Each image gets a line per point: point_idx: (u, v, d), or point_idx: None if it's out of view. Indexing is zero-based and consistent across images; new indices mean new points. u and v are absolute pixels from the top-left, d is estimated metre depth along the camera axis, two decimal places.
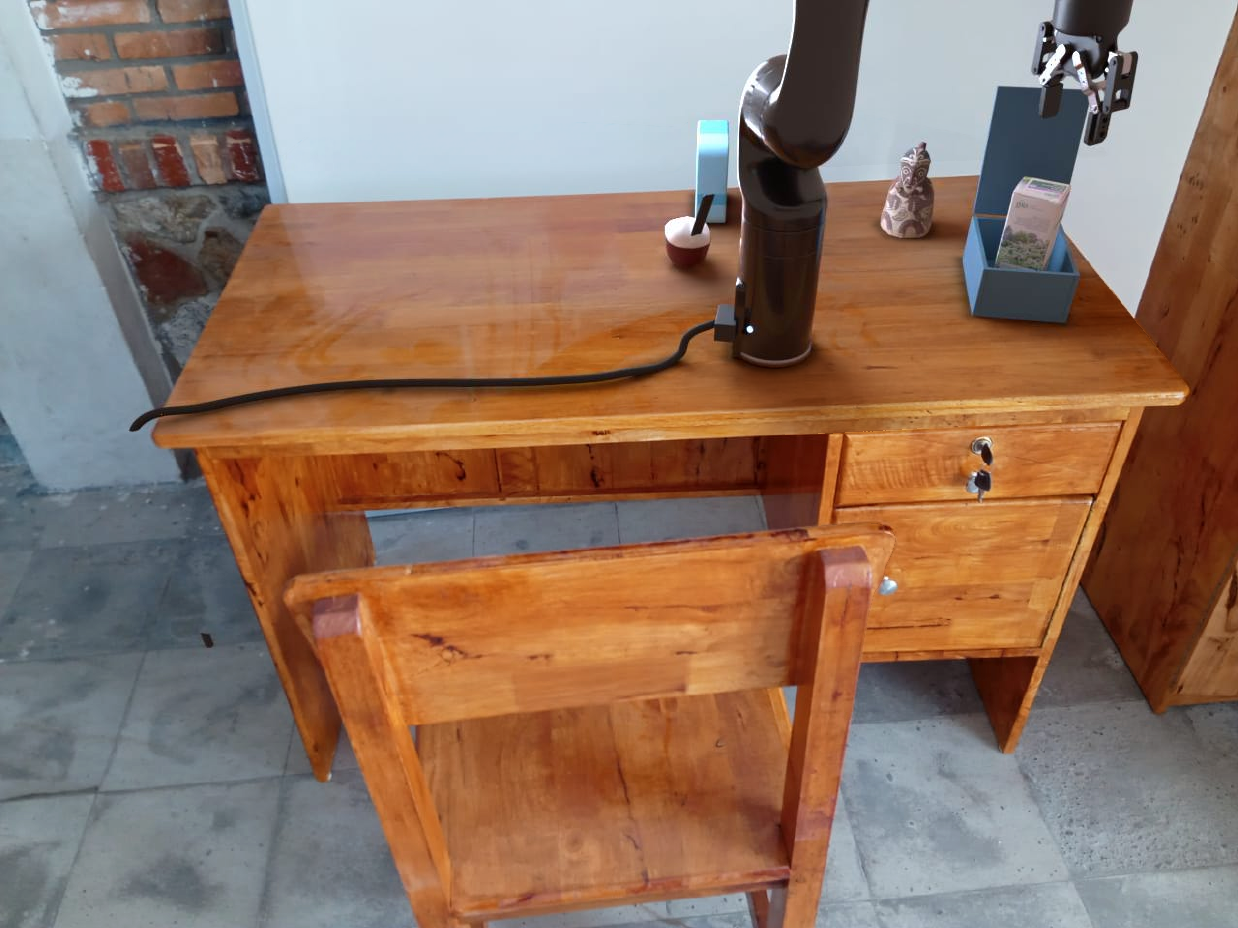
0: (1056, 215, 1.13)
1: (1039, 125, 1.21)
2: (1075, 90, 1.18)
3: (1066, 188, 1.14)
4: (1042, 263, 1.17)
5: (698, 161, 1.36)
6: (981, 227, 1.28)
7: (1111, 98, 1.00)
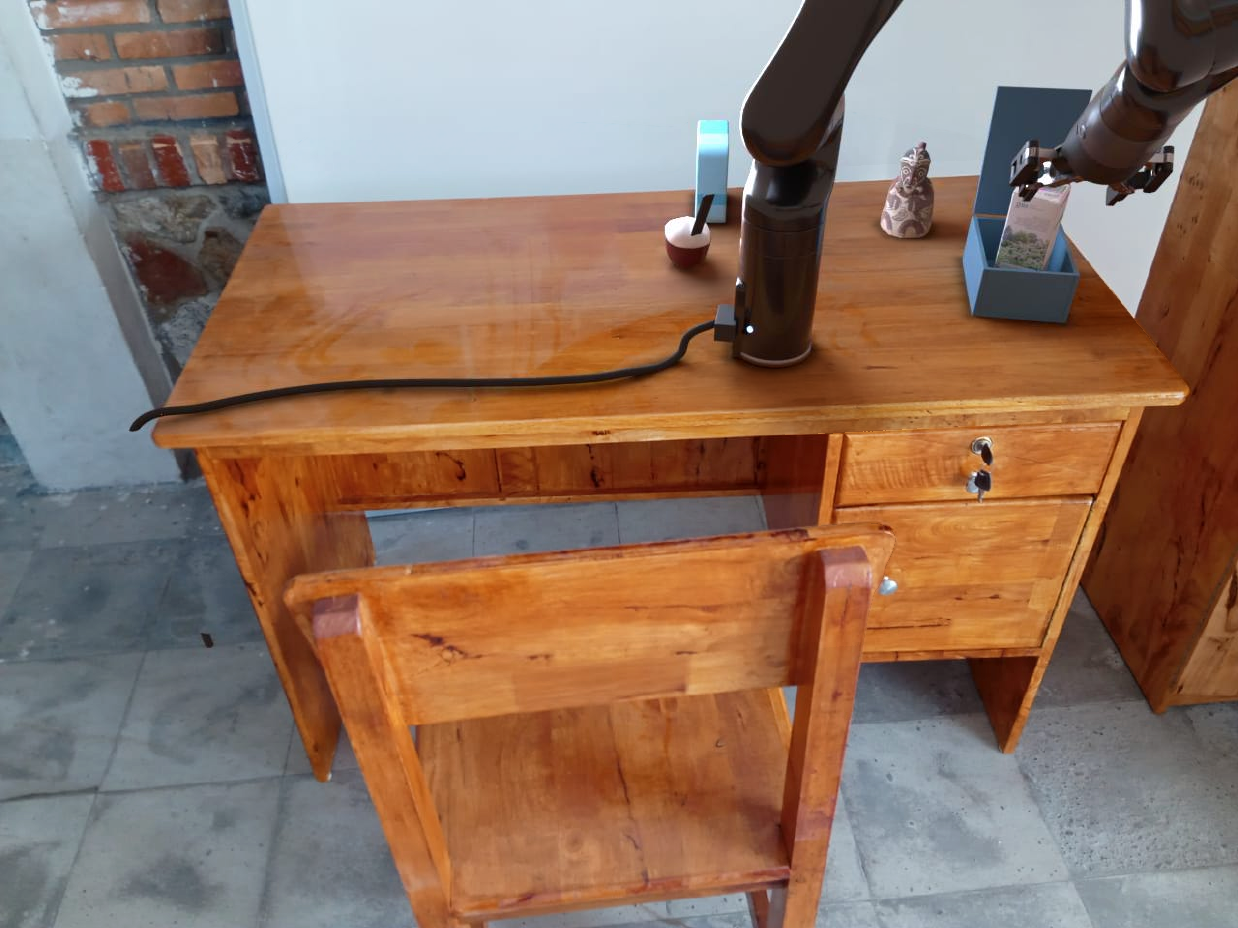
0: (1056, 215, 1.13)
1: (1039, 125, 1.21)
2: (1075, 90, 1.18)
3: (1066, 188, 1.14)
4: (1042, 263, 1.17)
5: (698, 161, 1.36)
6: (981, 227, 1.28)
7: (1015, 157, 0.98)
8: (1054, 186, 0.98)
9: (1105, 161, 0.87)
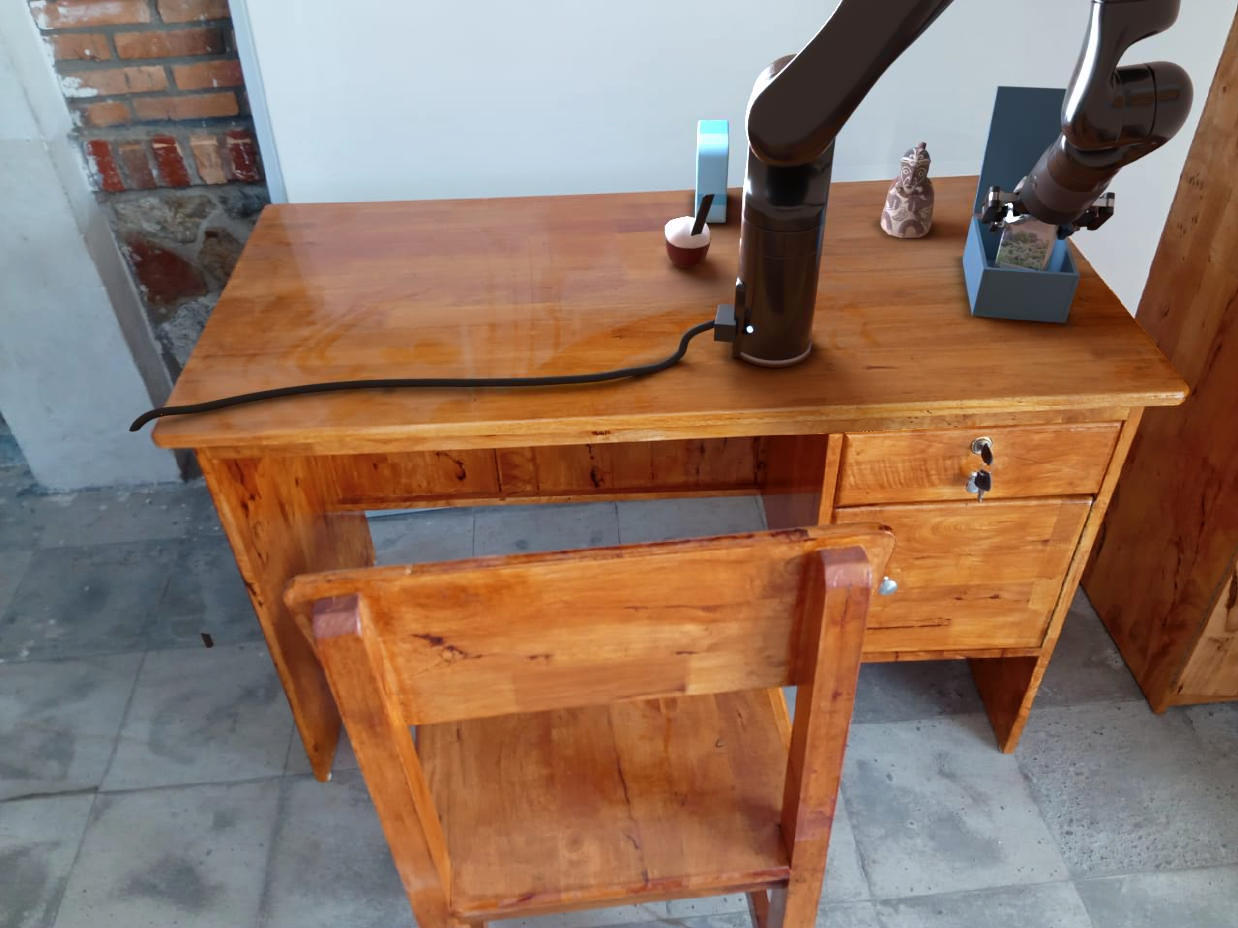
0: None
1: (1039, 125, 1.21)
2: None
3: None
4: (1042, 263, 1.17)
5: (698, 161, 1.36)
6: (981, 227, 1.28)
7: (984, 199, 1.15)
8: (1017, 224, 1.14)
9: (1053, 206, 1.03)
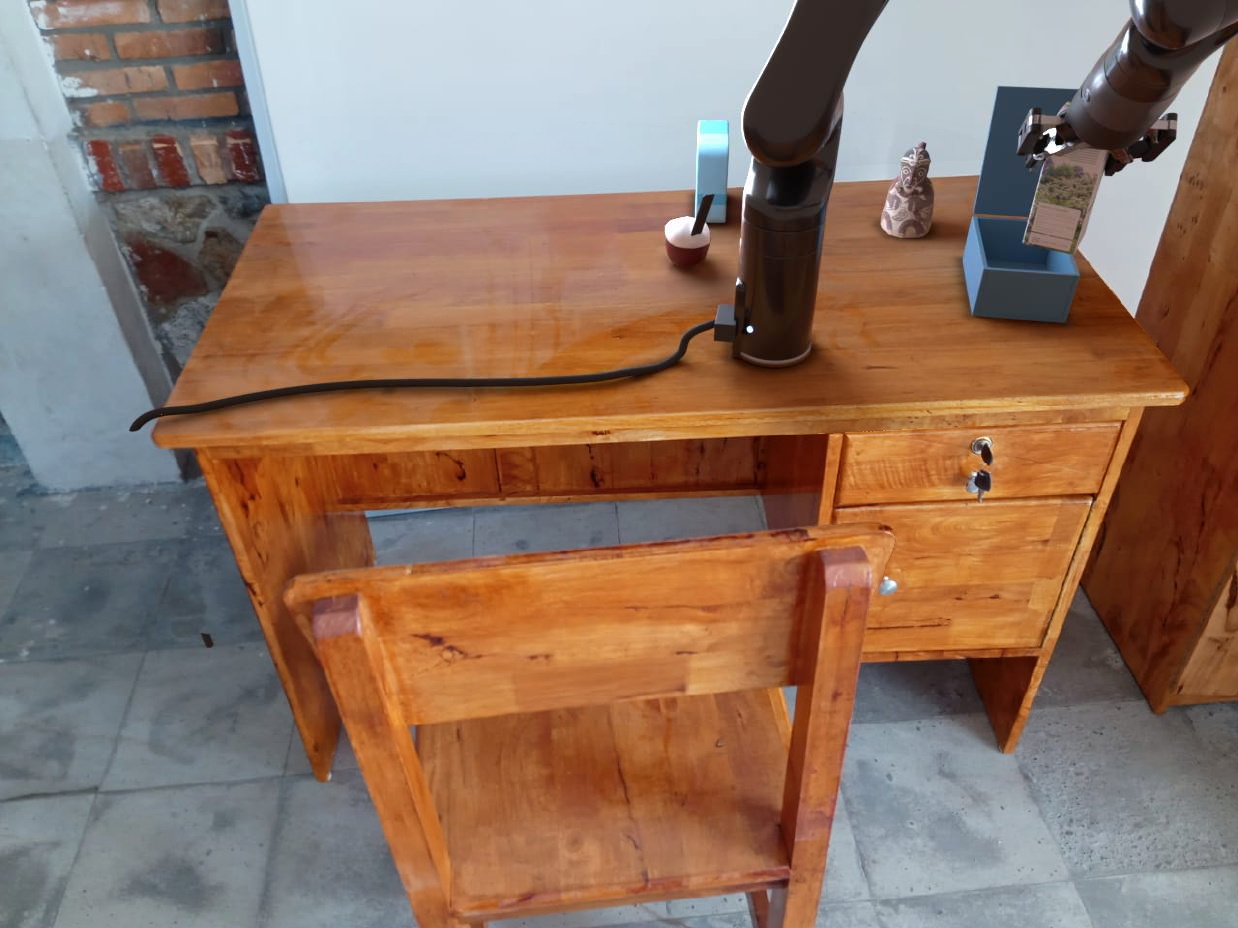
0: None
1: None
2: (1075, 90, 1.18)
3: None
4: (1088, 202, 1.01)
5: (698, 161, 1.36)
6: (981, 227, 1.28)
7: (1021, 126, 0.99)
8: (1060, 154, 0.98)
9: (1109, 124, 0.87)
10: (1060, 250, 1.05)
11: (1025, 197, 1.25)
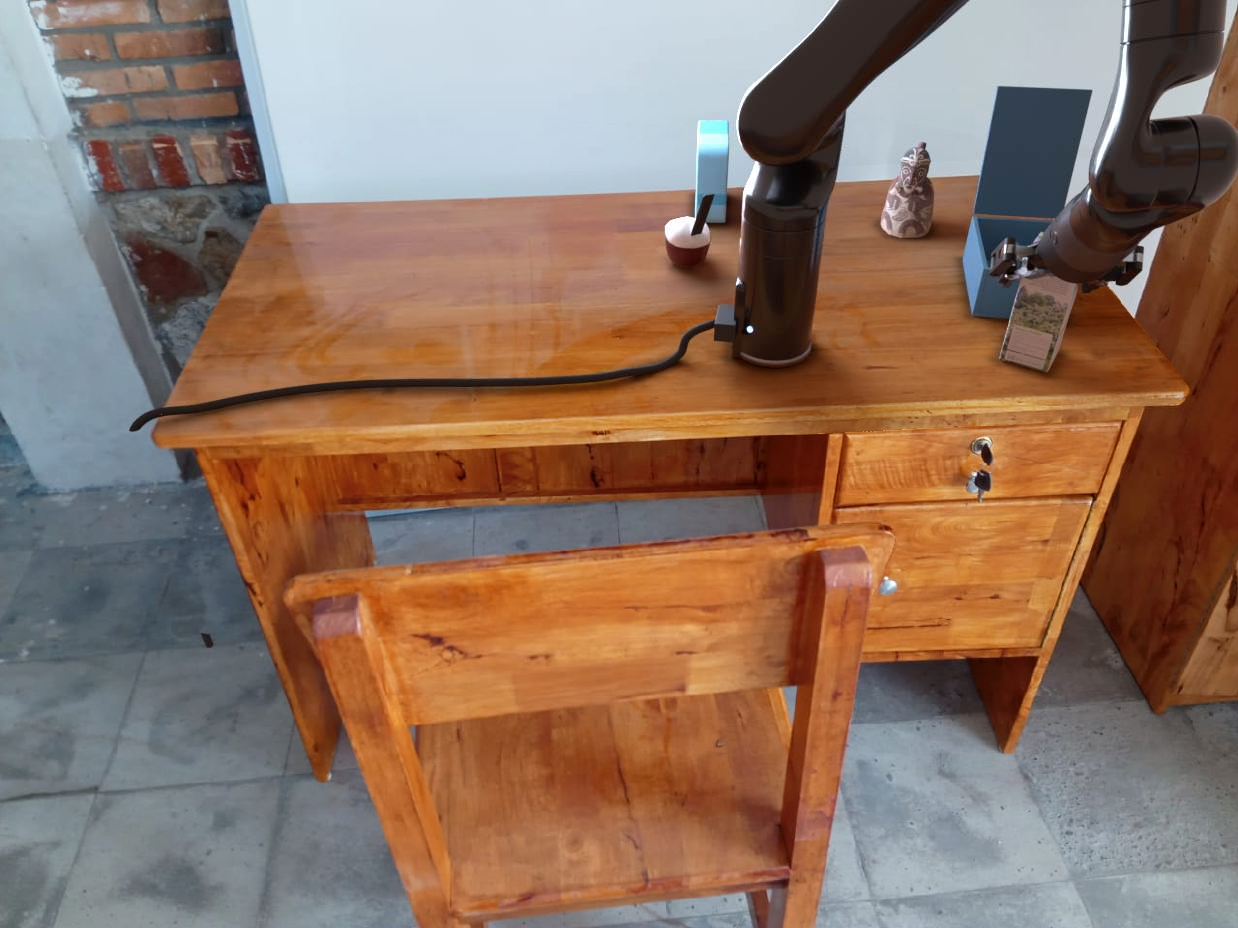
0: None
1: (1039, 125, 1.21)
2: (1075, 90, 1.18)
3: None
4: (1060, 327, 1.06)
5: (698, 161, 1.36)
6: (981, 227, 1.28)
7: (995, 249, 1.04)
8: (1031, 278, 1.03)
9: (1076, 265, 0.92)
10: (1034, 368, 1.11)
11: (1025, 197, 1.25)
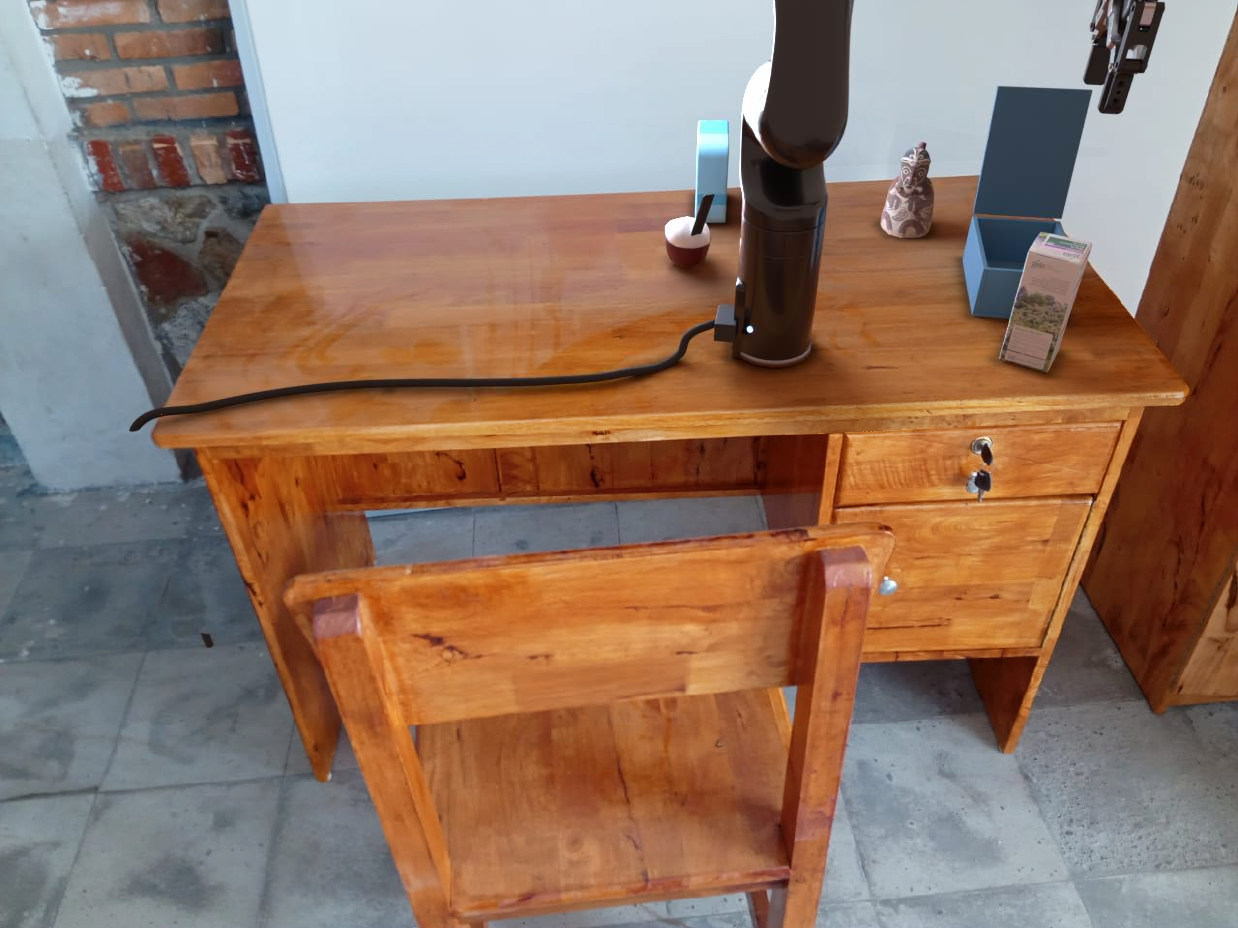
0: (1076, 277, 1.02)
1: (1039, 125, 1.21)
2: (1075, 90, 1.18)
3: (1087, 246, 1.04)
4: (1060, 327, 1.06)
5: (698, 161, 1.36)
6: (981, 227, 1.28)
7: (1122, 51, 0.86)
8: None
9: None
10: (1034, 368, 1.11)
11: (1025, 197, 1.25)
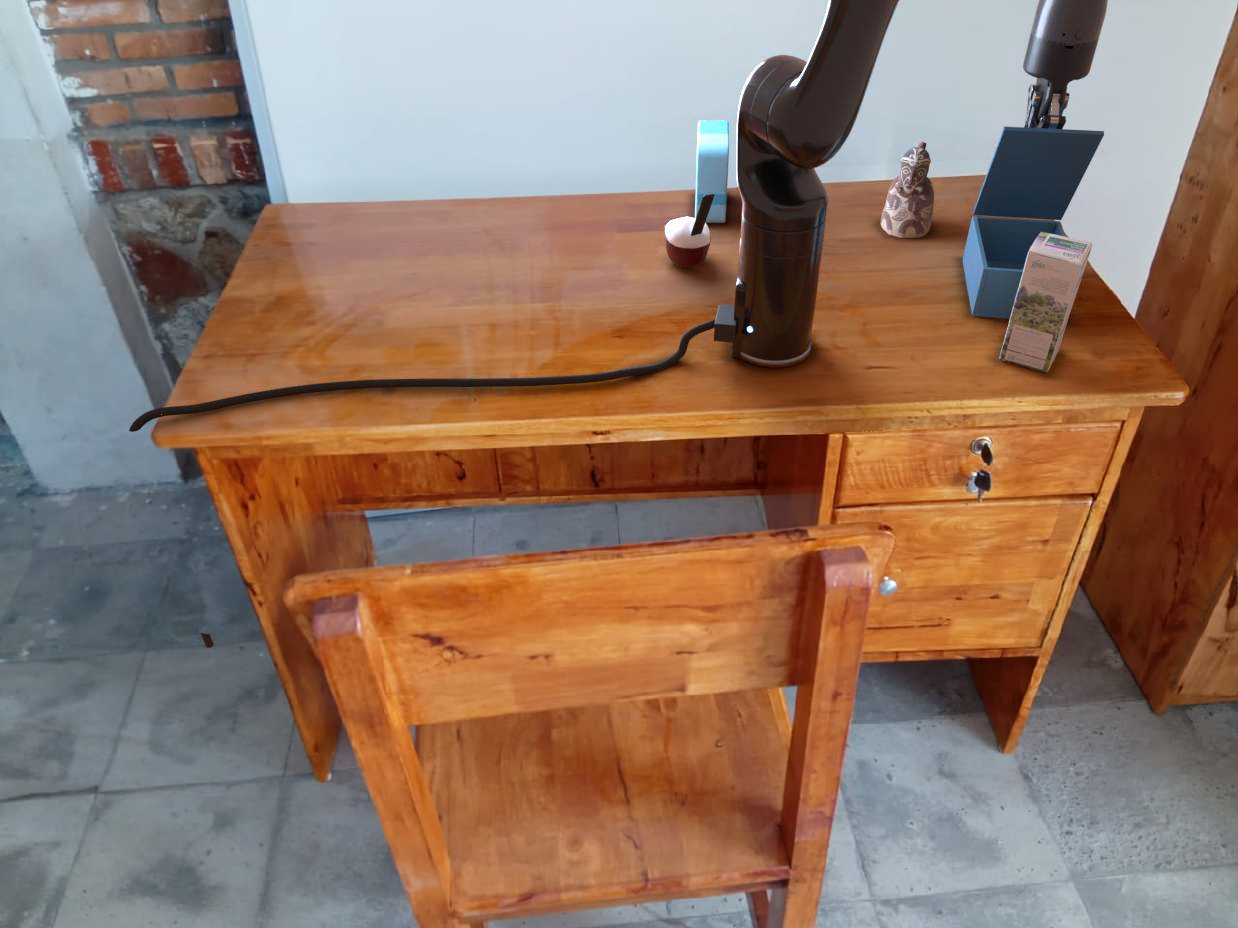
0: (1076, 277, 1.02)
1: (1044, 158, 1.16)
2: (1086, 134, 1.12)
3: (1087, 246, 1.04)
4: (1060, 327, 1.06)
5: (698, 161, 1.36)
6: (981, 227, 1.28)
7: None
8: None
9: (1100, 32, 1.10)
10: (1034, 368, 1.11)
11: (1026, 205, 1.24)
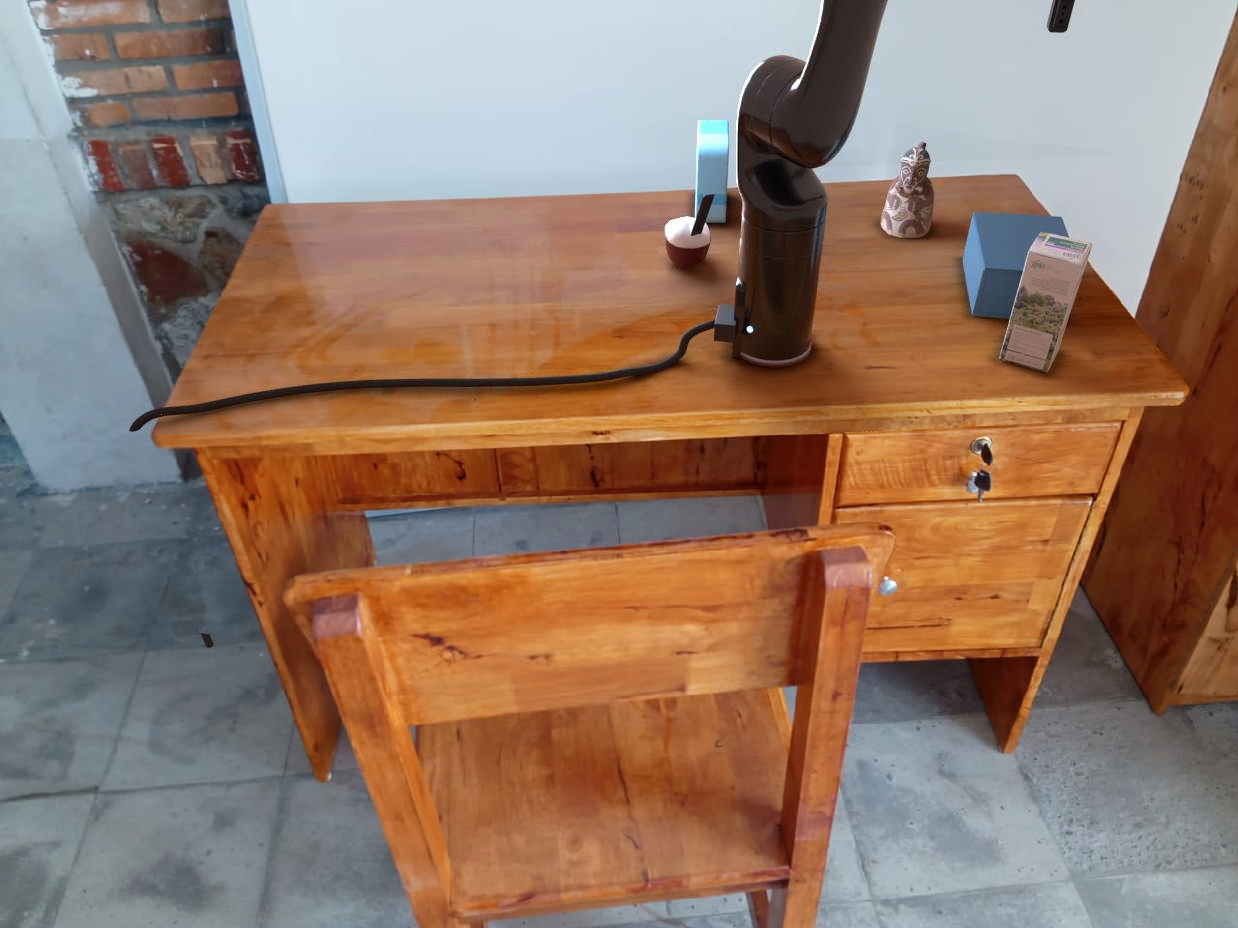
0: (1076, 277, 1.02)
1: None
2: None
3: (1087, 246, 1.04)
4: (1060, 327, 1.06)
5: (698, 161, 1.36)
6: None
7: None
8: None
9: None
10: (1034, 368, 1.11)
11: None
